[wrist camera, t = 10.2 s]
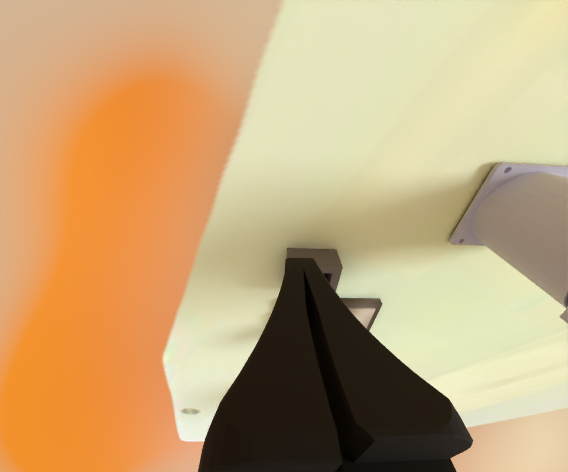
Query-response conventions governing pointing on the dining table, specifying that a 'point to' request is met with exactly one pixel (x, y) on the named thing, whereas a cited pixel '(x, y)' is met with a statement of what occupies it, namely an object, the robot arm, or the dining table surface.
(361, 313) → the grey flat tray
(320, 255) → the button box
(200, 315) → the dining table surface
